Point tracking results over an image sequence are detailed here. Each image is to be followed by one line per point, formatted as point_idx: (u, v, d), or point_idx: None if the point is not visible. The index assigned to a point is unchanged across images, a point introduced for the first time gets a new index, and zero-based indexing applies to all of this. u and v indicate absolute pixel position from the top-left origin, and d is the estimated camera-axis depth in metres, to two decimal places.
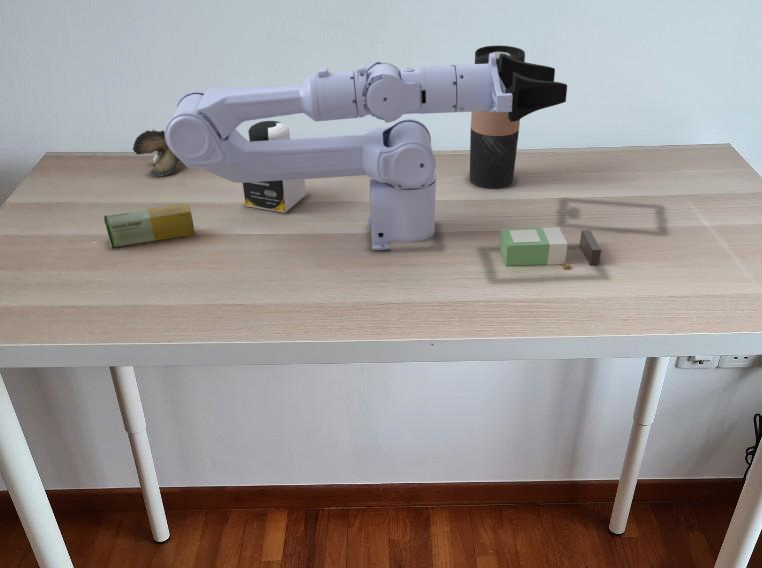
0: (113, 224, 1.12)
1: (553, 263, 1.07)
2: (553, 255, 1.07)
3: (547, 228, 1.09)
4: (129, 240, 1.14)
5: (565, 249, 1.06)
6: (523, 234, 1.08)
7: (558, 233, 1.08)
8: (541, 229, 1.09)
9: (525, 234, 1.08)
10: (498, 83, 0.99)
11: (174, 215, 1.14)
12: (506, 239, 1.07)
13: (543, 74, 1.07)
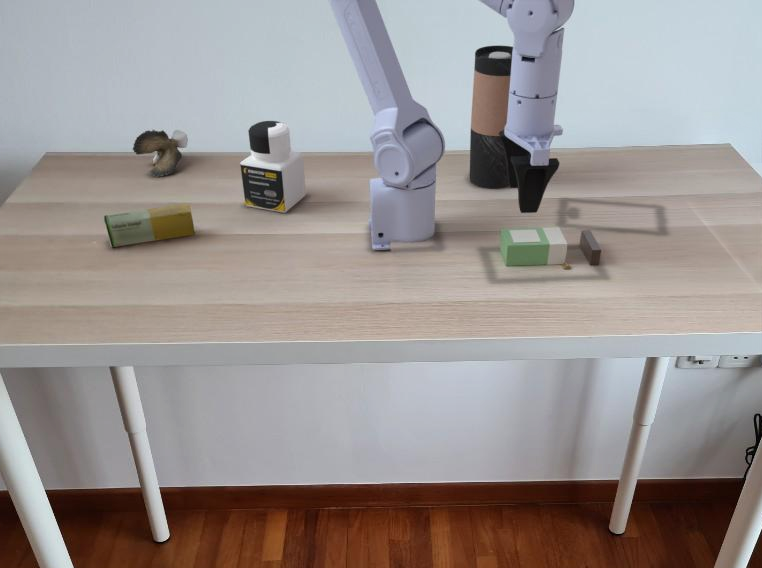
0: (113, 224, 1.12)
1: (553, 263, 1.07)
2: (553, 255, 1.07)
3: (547, 228, 1.09)
4: (129, 240, 1.14)
5: (565, 249, 1.06)
6: (523, 234, 1.08)
7: (558, 233, 1.08)
8: (541, 229, 1.09)
9: (525, 234, 1.08)
10: (550, 144, 0.96)
11: (174, 215, 1.14)
12: (506, 239, 1.07)
13: None
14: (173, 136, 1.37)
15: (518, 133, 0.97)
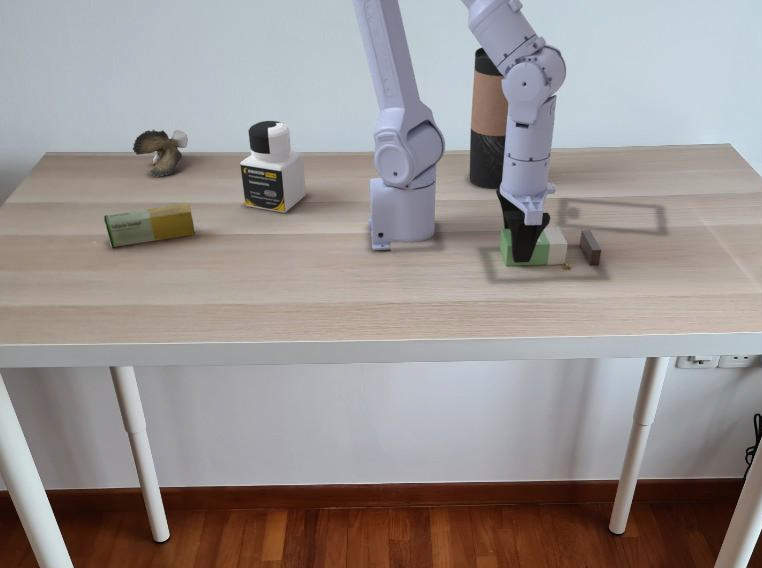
0: (113, 223, 1.12)
1: (553, 263, 1.07)
2: (553, 255, 1.07)
3: (547, 228, 1.09)
4: (128, 240, 1.14)
5: (565, 249, 1.06)
6: None
7: (558, 233, 1.08)
8: None
9: None
10: (543, 204, 1.00)
11: (174, 215, 1.14)
12: (506, 239, 1.07)
13: None
14: (173, 136, 1.37)
15: (513, 192, 1.01)
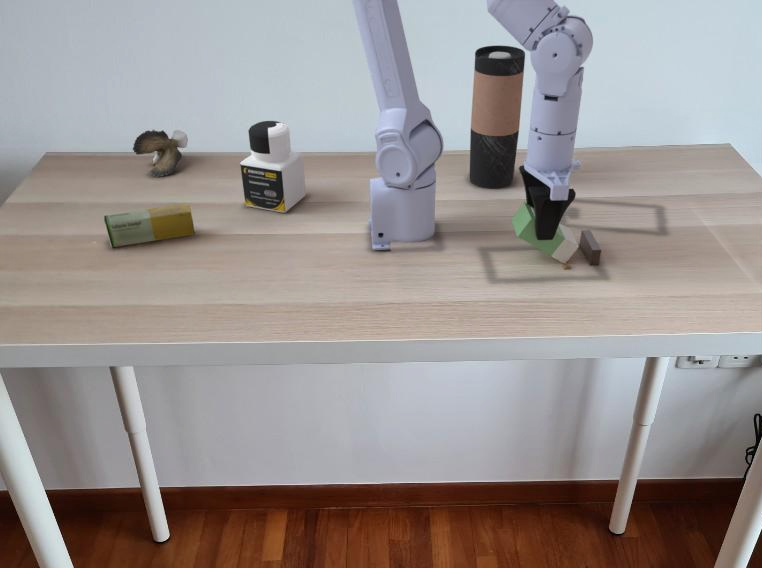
0: (113, 224, 1.12)
1: (556, 258, 1.07)
2: (560, 250, 1.06)
3: (561, 225, 1.09)
4: (129, 240, 1.14)
5: (574, 250, 1.06)
6: None
7: (570, 234, 1.08)
8: None
9: None
10: (568, 179, 0.98)
11: (174, 215, 1.14)
12: (529, 213, 1.05)
13: None
14: (173, 136, 1.37)
15: (538, 168, 0.99)
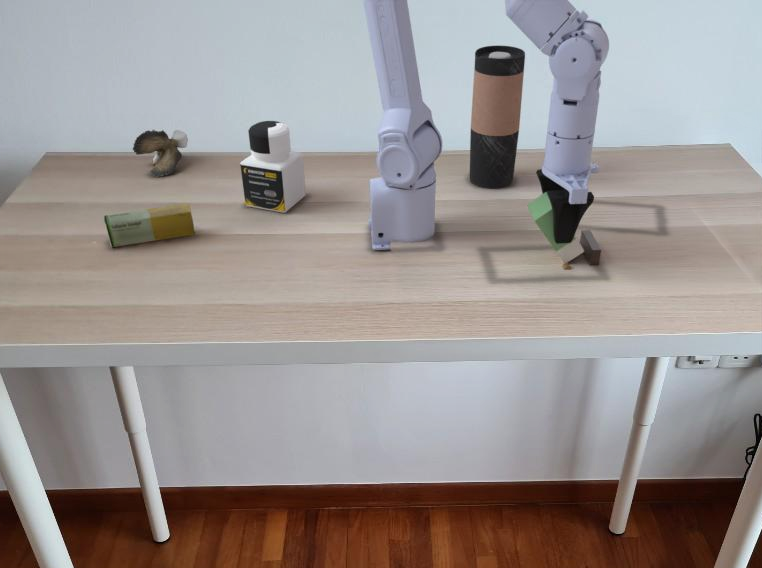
0: (113, 224, 1.12)
1: (560, 255, 1.07)
2: (566, 249, 1.06)
3: None
4: (128, 240, 1.14)
5: (578, 253, 1.07)
6: None
7: (577, 238, 1.09)
8: None
9: None
10: (587, 183, 0.99)
11: (174, 215, 1.14)
12: None
13: None
14: (173, 136, 1.37)
15: (556, 172, 1.00)
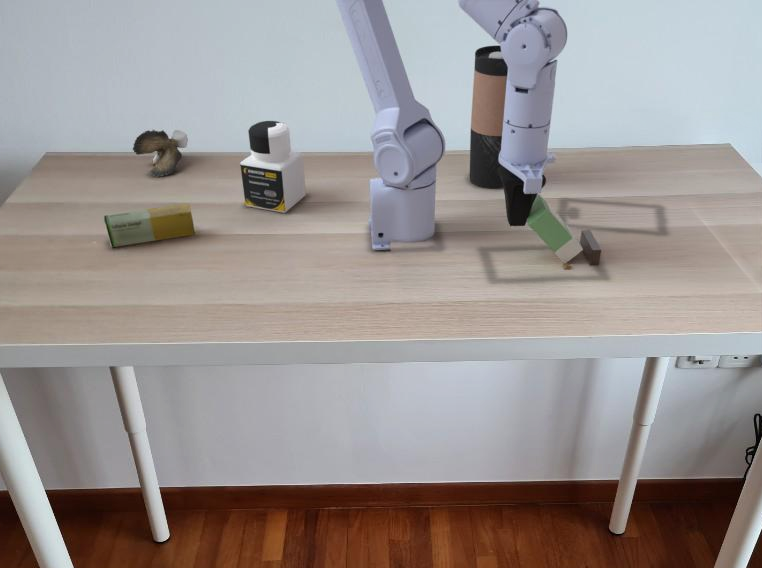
0: (113, 224, 1.12)
1: (559, 256, 1.07)
2: (565, 249, 1.06)
3: (567, 225, 1.09)
4: (128, 240, 1.14)
5: (577, 252, 1.07)
6: (554, 213, 1.06)
7: (575, 236, 1.09)
8: (564, 222, 1.09)
9: (556, 214, 1.06)
10: (542, 173, 0.98)
11: (174, 215, 1.14)
12: (544, 204, 1.04)
13: None
14: (173, 136, 1.37)
15: (512, 161, 0.99)
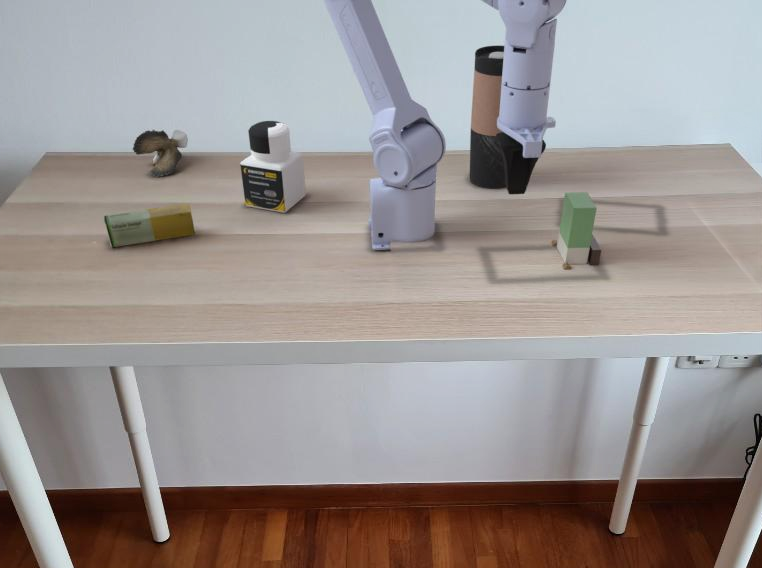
0: (113, 224, 1.12)
1: (567, 253, 1.07)
2: (576, 252, 1.07)
3: None
4: (129, 240, 1.14)
5: (581, 262, 1.08)
6: None
7: None
8: None
9: None
10: (542, 137, 0.95)
11: (174, 215, 1.14)
12: (593, 203, 1.04)
13: None
14: (173, 136, 1.37)
15: (510, 125, 0.96)
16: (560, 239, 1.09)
